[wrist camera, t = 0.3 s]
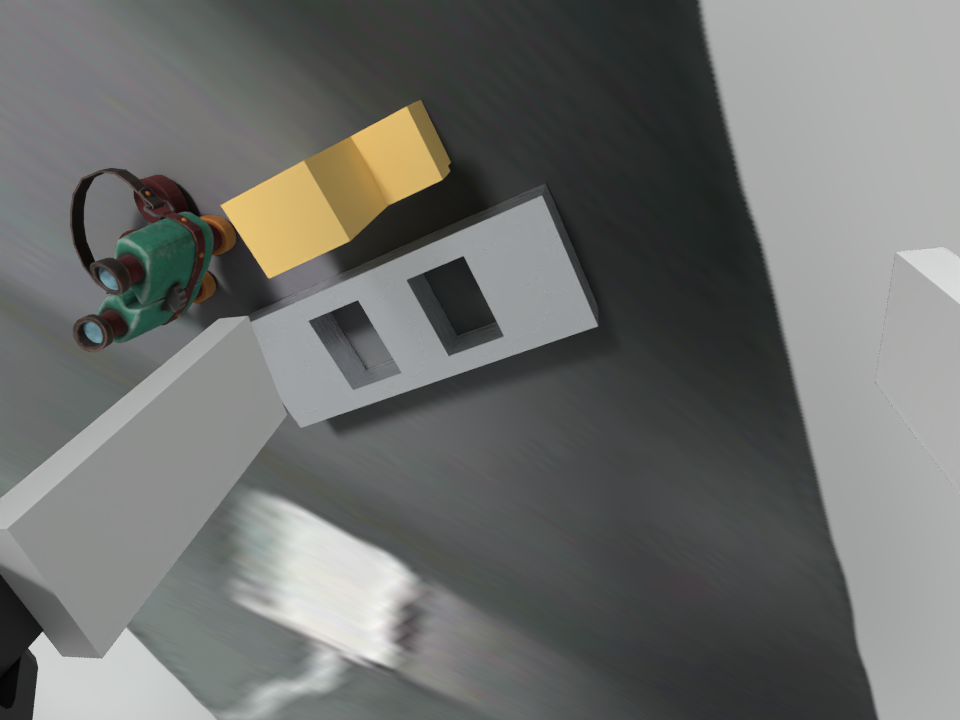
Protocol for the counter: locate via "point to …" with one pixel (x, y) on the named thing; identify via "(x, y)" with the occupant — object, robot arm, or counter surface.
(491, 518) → the counter surface
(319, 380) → the grey board with holes
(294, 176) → the yellow stepped block
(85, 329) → the binoculars
